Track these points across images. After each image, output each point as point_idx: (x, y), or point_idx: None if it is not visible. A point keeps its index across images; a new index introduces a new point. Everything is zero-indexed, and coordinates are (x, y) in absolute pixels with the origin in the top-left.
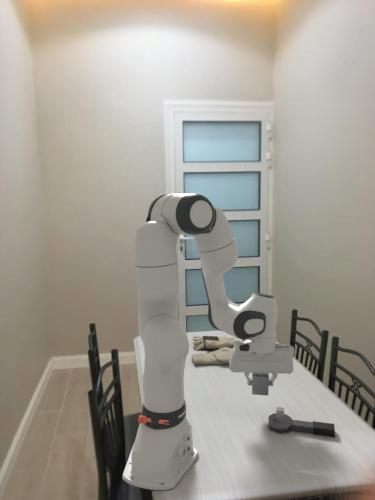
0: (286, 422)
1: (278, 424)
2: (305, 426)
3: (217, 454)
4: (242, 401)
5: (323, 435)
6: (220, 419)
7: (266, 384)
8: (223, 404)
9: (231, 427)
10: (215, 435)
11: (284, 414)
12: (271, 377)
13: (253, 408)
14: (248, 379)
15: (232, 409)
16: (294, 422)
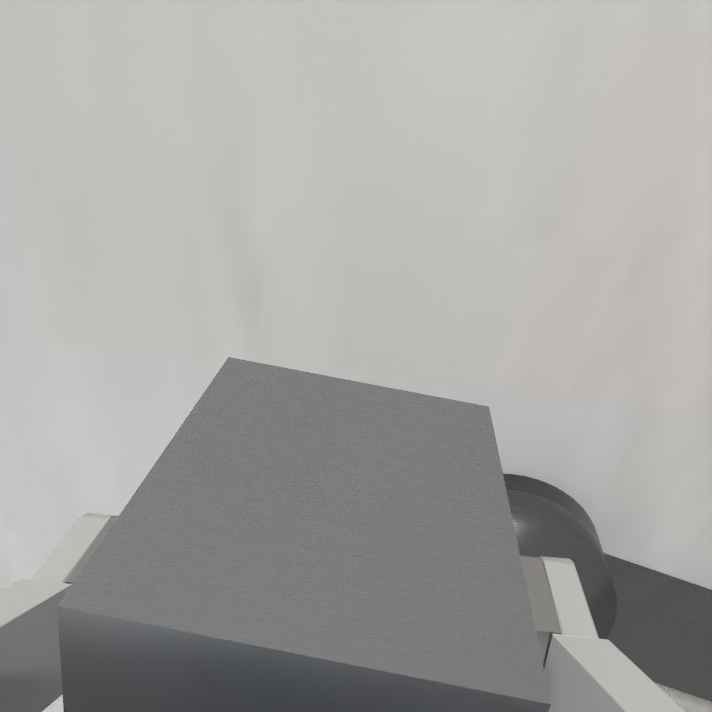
0: None
1: None
2: (685, 690)
3: (52, 703)
4: (220, 53)
5: None
6: (17, 392)
7: None
8: (4, 116)
9: (114, 503)
10: (14, 565)
11: (577, 553)
12: (579, 676)
13: (329, 237)
14: (47, 685)
15: (108, 236)
16: (619, 636)
